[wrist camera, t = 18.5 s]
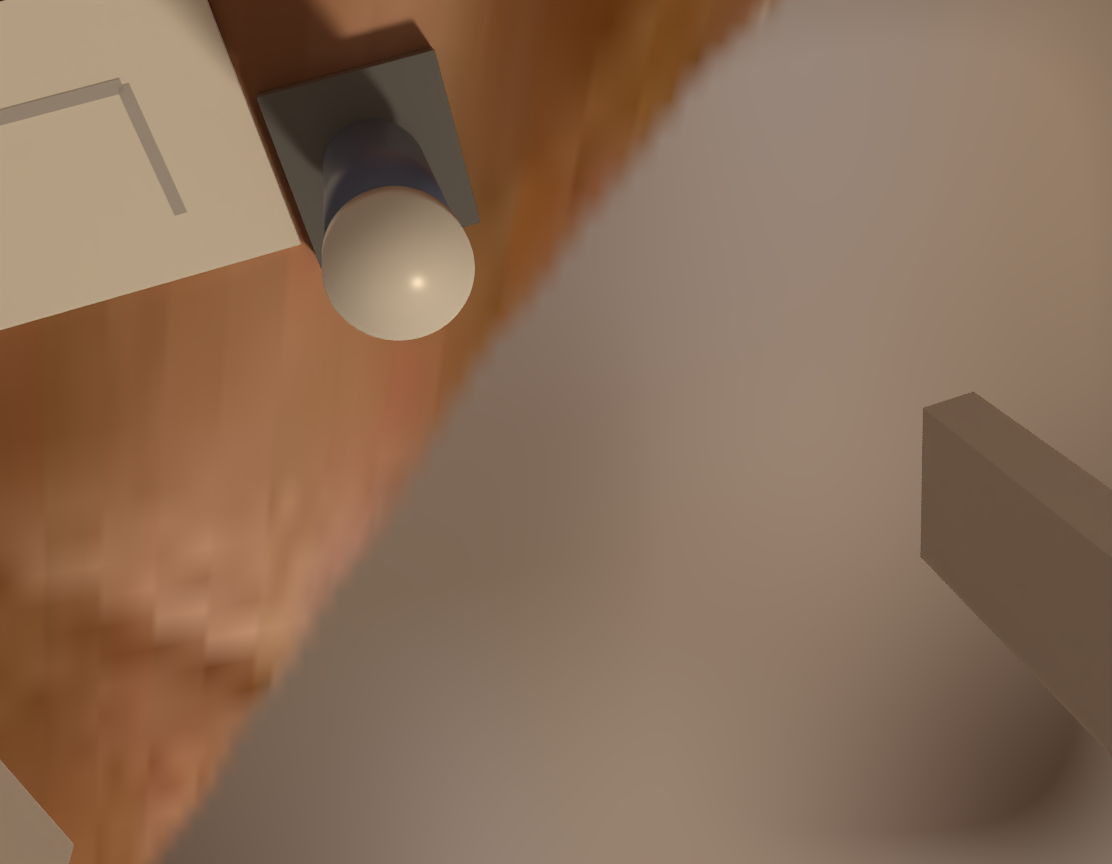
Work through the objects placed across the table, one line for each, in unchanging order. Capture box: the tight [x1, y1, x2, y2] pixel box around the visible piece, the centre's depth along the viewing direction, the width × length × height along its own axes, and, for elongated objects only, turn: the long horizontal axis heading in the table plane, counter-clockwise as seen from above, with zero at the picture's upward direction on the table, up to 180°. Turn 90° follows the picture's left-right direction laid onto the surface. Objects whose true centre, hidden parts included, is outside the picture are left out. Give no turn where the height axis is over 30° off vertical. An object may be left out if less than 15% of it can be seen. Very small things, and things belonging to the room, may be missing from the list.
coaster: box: [256, 47, 480, 268], centre depth 36 cm, size 7×7×1 cm
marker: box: [322, 119, 475, 340], centre depth 30 cm, size 4×4×13 cm
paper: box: [0, 0, 301, 330], centre depth 33 cm, size 16×11×1 cm
